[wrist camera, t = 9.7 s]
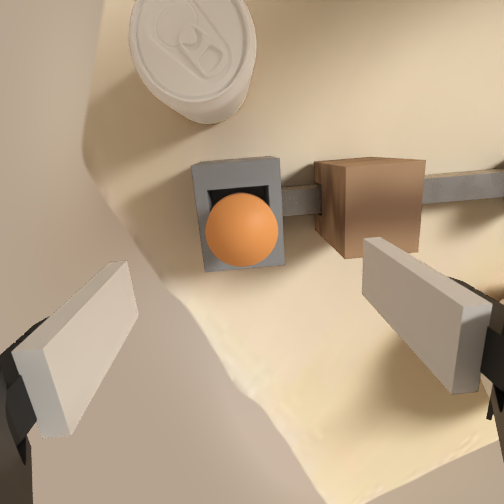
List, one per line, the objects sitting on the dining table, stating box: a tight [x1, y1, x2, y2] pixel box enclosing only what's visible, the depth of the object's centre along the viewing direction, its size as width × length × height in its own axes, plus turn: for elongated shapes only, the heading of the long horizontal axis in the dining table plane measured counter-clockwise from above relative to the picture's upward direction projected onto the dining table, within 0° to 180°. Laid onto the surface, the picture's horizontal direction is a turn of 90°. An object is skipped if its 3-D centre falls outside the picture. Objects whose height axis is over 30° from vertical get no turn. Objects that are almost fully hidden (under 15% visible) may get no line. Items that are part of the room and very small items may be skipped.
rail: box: [281, 168, 504, 216], centre depth 32 cm, size 5×29×6 cm, turn 94°
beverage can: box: [129, 0, 257, 124], centre depth 25 cm, size 8×8×12 cm
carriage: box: [314, 157, 426, 259], centre depth 30 cm, size 7×6×10 cm
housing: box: [191, 156, 285, 272], centre depth 31 cm, size 9×7×8 cm
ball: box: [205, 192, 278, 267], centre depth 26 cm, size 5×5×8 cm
